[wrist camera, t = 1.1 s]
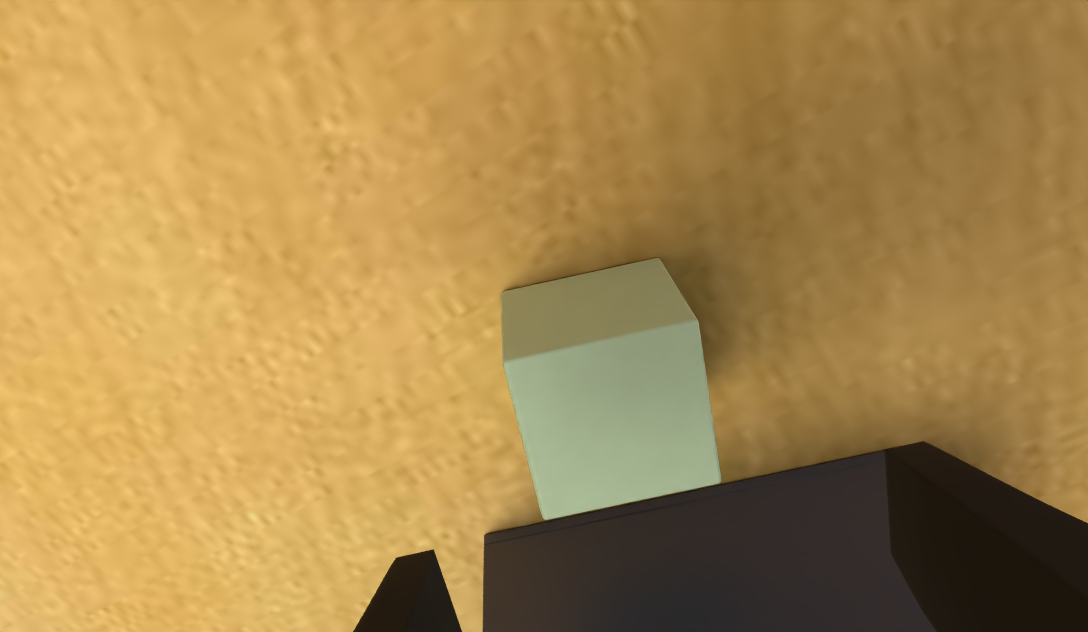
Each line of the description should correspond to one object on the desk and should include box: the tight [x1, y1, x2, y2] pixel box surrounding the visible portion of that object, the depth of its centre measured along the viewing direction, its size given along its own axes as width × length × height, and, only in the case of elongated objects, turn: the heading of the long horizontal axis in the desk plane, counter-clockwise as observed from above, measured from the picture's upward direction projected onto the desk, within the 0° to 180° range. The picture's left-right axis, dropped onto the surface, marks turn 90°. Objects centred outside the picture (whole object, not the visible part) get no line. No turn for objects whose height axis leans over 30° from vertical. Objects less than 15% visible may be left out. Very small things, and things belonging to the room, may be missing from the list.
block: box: [501, 258, 721, 520], centre depth 20 cm, size 4×4×4 cm
